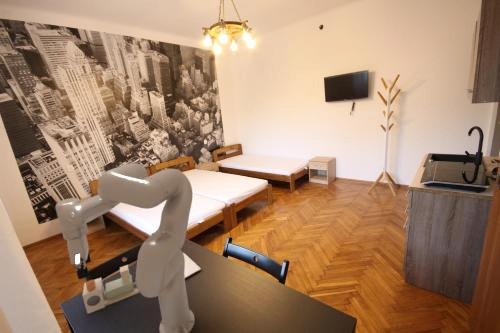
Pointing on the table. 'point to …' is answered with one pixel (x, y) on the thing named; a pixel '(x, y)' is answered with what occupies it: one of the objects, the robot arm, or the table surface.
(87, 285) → the knob
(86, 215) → the robot arm
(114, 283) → the carriage
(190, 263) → the plate
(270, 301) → the table surface
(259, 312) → the table surface
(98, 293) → the cabinet
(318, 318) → the table surface
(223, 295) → the table surface
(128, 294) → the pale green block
